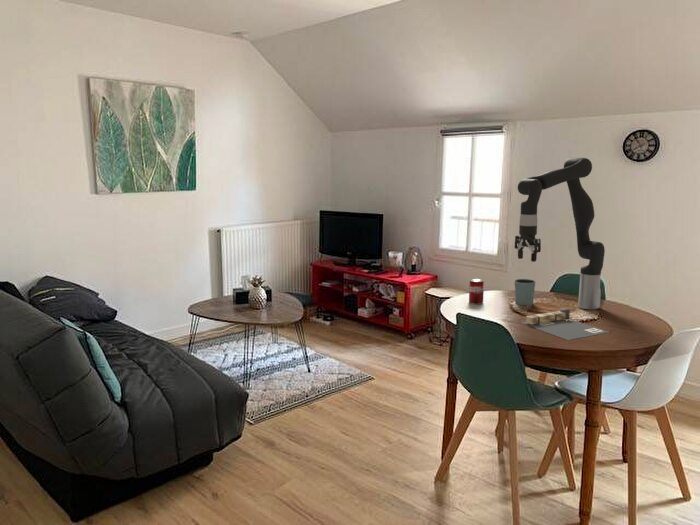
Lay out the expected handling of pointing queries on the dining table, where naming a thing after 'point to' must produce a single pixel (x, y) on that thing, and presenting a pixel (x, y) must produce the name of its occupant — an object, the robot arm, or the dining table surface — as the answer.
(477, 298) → the soda can
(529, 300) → the teal cup
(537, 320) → the swing arm
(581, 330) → the label mat
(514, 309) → the dining table surface
